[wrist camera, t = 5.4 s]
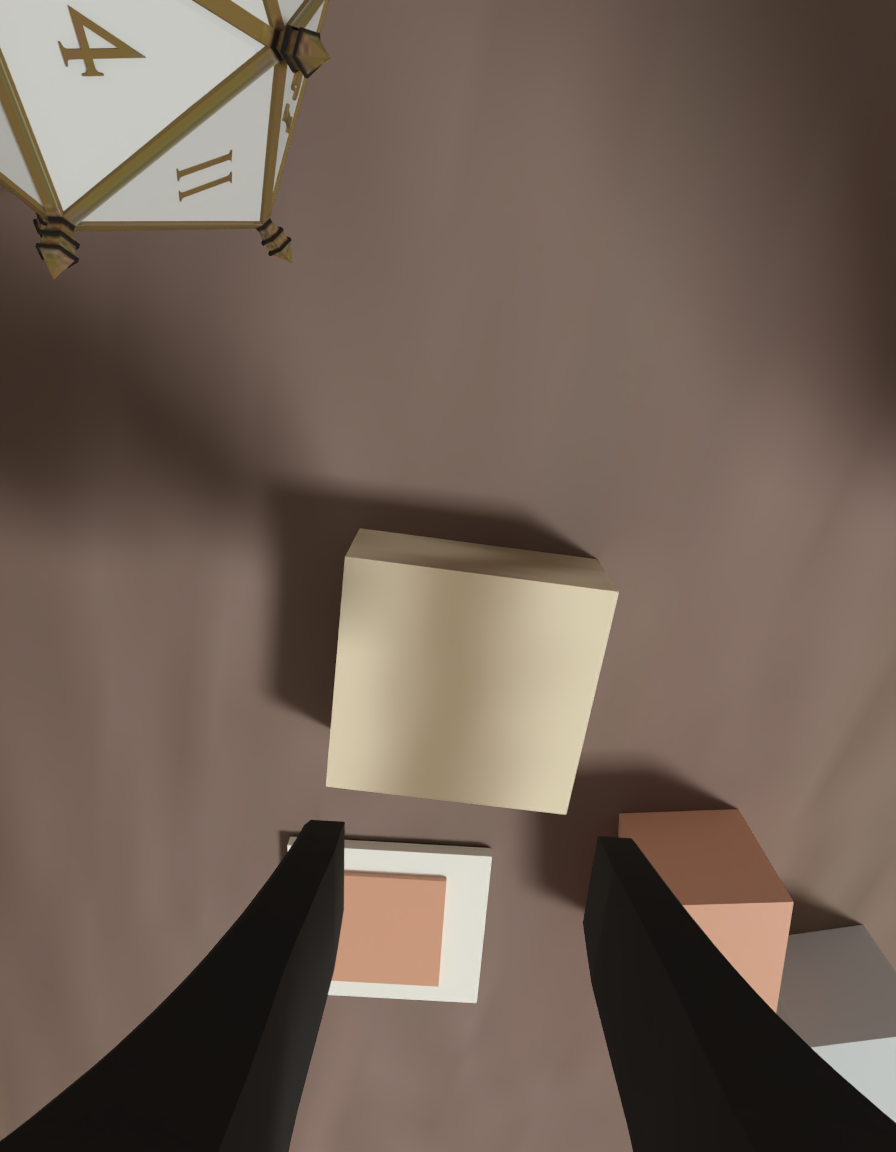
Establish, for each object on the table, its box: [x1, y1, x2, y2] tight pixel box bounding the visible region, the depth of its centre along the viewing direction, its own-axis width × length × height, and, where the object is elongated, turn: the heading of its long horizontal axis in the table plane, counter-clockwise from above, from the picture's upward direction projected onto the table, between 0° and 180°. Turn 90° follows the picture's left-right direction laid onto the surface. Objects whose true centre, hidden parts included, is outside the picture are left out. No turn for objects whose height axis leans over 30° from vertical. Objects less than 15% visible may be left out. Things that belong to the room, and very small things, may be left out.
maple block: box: [326, 528, 619, 815], centre depth 19 cm, size 7×7×3 cm
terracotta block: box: [618, 809, 794, 1013], centre depth 21 cm, size 4×5×4 cm
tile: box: [287, 837, 492, 1003], centre depth 24 cm, size 7×7×1 cm
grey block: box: [776, 925, 896, 1122], centre depth 23 cm, size 4×5×4 cm
